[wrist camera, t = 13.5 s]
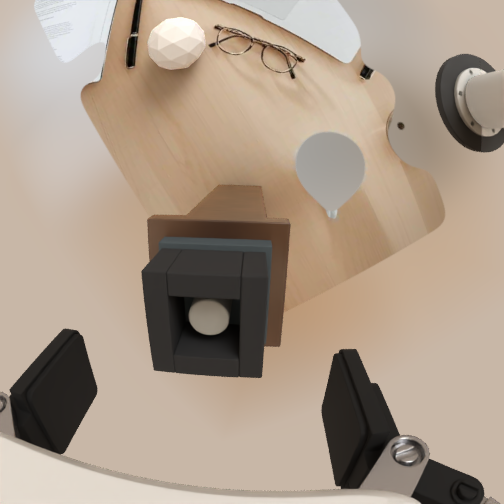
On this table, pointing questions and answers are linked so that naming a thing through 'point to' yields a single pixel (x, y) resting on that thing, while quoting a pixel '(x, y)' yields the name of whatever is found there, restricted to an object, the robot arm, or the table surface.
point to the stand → (234, 236)
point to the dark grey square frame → (206, 286)
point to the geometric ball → (176, 43)
